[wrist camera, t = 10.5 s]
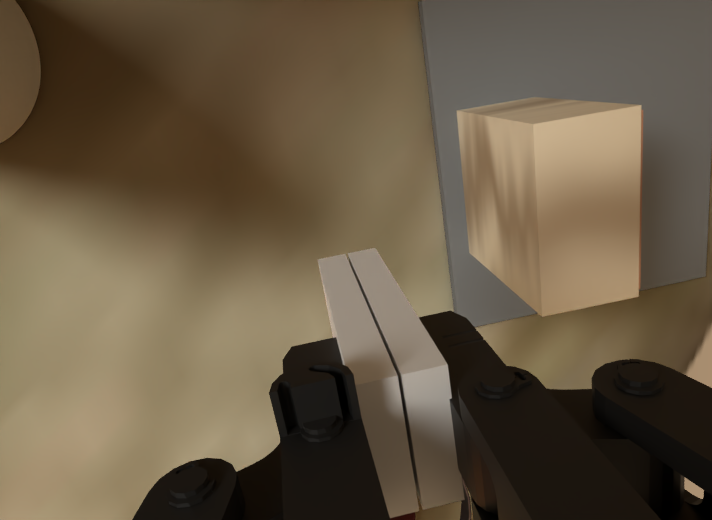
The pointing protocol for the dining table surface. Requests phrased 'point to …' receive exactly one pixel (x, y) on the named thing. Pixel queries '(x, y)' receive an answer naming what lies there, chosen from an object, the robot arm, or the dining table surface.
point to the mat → (585, 83)
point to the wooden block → (555, 198)
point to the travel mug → (16, 68)
